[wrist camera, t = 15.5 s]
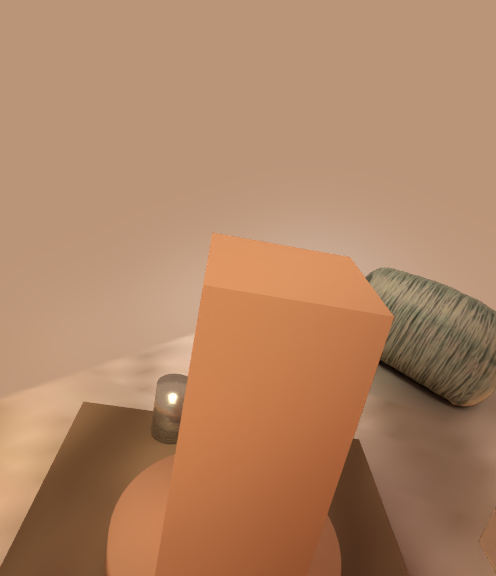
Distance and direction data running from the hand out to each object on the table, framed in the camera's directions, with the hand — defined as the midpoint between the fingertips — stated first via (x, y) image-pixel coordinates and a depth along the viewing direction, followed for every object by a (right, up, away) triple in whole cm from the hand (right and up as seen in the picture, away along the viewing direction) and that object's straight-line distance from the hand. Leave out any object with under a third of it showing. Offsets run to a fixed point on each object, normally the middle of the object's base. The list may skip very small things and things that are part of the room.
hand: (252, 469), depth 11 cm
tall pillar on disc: (-1, -6, +7) cm, 10 cm away
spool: (+14, -3, +28) cm, 32 cm away
